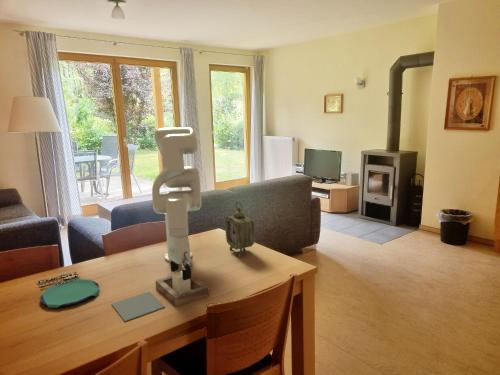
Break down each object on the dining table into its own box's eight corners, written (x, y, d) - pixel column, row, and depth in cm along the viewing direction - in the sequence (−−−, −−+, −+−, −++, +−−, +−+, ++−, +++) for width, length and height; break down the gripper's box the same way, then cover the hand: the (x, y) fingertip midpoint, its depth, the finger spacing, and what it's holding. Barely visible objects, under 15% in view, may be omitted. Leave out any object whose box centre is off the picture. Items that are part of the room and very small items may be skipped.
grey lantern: (226, 249, 177) (224, 200, 172) (242, 245, 181) (241, 197, 176) (238, 259, 165) (237, 206, 160) (256, 255, 169) (255, 204, 164)
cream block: (172, 290, 136) (171, 273, 135) (184, 286, 139) (183, 270, 138) (178, 295, 133) (177, 278, 131) (190, 291, 136) (189, 274, 134)
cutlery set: (46, 317, 121) (45, 310, 120) (32, 285, 144) (31, 280, 143) (106, 297, 133) (105, 292, 133) (84, 271, 156) (84, 266, 156)
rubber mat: (111, 304, 127) (111, 303, 127) (149, 292, 135) (149, 291, 135) (124, 321, 116) (124, 320, 116) (165, 307, 125) (165, 306, 124)
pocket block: (156, 287, 139) (155, 280, 139) (186, 277, 147) (185, 271, 146) (176, 306, 125) (176, 298, 124) (208, 294, 133) (208, 287, 132)
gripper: (158, 227, 135) (161, 270, 139) (179, 238, 122) (182, 285, 125) (176, 224, 140) (179, 265, 143) (198, 234, 126) (201, 279, 129)
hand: (180, 275), depth 134 cm, fingers open, 9 cm apart
